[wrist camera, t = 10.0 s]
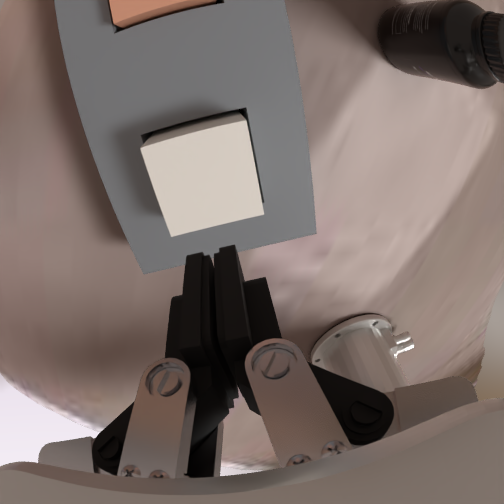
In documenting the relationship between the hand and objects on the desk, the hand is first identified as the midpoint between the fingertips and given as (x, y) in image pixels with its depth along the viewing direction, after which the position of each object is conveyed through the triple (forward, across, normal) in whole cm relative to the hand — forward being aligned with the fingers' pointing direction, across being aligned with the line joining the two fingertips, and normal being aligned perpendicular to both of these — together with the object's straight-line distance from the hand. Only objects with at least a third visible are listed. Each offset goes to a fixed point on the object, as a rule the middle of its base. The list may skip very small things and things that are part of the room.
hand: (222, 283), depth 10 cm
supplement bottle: (+15, -18, -9) cm, 25 cm away
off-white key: (+13, +1, -1) cm, 13 cm away
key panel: (+14, +1, -8) cm, 16 cm away
